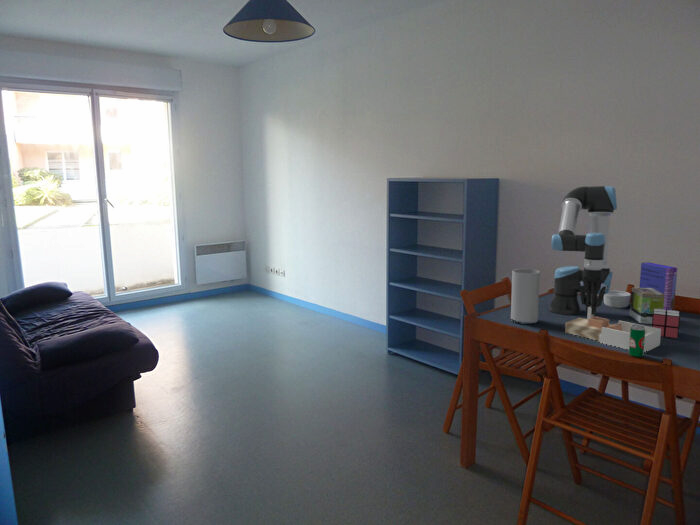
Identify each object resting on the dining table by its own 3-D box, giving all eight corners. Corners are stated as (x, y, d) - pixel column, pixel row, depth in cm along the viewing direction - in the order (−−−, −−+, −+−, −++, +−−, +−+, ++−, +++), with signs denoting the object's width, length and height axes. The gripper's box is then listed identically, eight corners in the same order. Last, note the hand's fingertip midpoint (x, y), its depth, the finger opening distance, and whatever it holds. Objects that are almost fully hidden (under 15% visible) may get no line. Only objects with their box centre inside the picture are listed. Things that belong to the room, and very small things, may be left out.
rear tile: (588, 325, 221) (588, 318, 220) (595, 322, 224) (595, 316, 224) (601, 328, 216) (602, 321, 216) (608, 325, 220) (609, 319, 219)
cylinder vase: (509, 317, 254) (511, 268, 250) (535, 318, 252) (537, 269, 247) (512, 324, 242) (513, 273, 238) (539, 325, 240) (541, 273, 235)
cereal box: (673, 314, 252) (677, 267, 248) (665, 315, 251) (669, 268, 247) (645, 306, 269) (648, 262, 265) (638, 307, 268) (641, 262, 264)
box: (598, 342, 213) (599, 326, 212) (616, 335, 222) (617, 320, 221) (643, 353, 199) (644, 336, 198) (659, 345, 209) (661, 328, 207)
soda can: (626, 353, 200) (628, 324, 198) (639, 353, 200) (641, 324, 198) (632, 357, 195) (634, 327, 193) (645, 357, 195) (648, 328, 193)
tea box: (663, 324, 236) (665, 294, 234) (639, 324, 238) (641, 293, 236) (650, 316, 251) (653, 287, 248) (628, 315, 253) (631, 286, 250)
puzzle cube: (678, 339, 216) (680, 316, 214) (650, 335, 221) (652, 313, 219) (677, 332, 224) (679, 311, 222) (651, 329, 229) (653, 308, 228)
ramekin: (618, 309, 263) (618, 297, 262) (596, 304, 275) (597, 292, 274) (635, 306, 269) (636, 294, 267) (614, 301, 280) (614, 289, 279)
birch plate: (564, 333, 227) (565, 322, 226) (578, 327, 234) (579, 317, 233) (600, 341, 214) (600, 330, 214) (613, 335, 222) (614, 325, 221)
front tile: (606, 326, 214) (613, 326, 212) (613, 323, 217) (620, 323, 215) (609, 340, 214) (616, 340, 211) (616, 337, 217) (623, 337, 215)
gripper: (574, 267, 222) (571, 319, 226) (603, 271, 212) (600, 325, 215) (583, 265, 226) (580, 316, 230) (612, 269, 216) (609, 322, 220)
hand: (590, 320), depth 223 cm, fingers closed
